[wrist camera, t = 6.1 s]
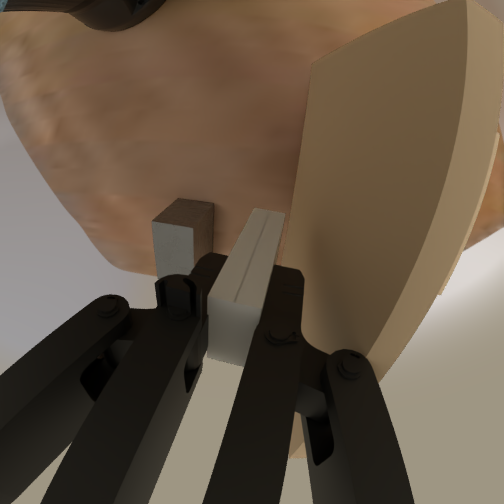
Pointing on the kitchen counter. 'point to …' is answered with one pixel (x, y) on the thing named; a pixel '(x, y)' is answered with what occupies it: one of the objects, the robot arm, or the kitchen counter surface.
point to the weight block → (182, 236)
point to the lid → (391, 176)
